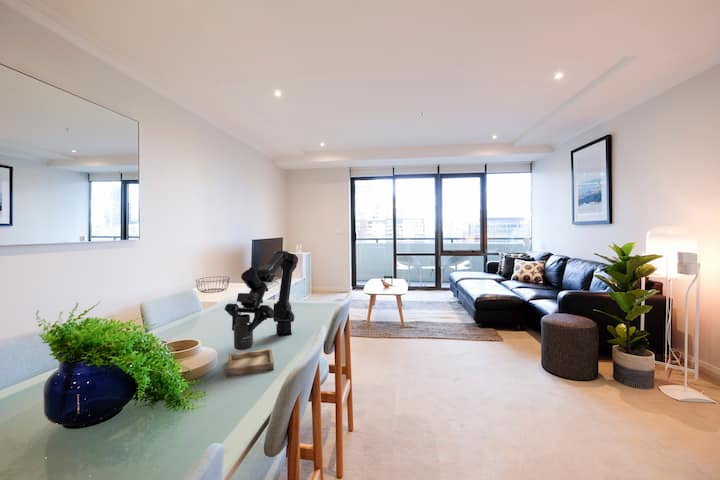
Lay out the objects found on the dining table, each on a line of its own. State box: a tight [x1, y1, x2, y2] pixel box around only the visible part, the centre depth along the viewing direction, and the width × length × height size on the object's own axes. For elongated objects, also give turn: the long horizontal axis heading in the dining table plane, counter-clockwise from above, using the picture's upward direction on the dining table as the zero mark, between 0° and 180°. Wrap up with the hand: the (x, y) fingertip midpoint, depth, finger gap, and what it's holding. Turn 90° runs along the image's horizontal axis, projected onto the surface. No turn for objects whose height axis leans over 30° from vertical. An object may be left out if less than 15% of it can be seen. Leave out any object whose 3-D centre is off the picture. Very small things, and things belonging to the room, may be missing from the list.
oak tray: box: [225, 348, 275, 378], centre depth 118 cm, size 16×14×2 cm
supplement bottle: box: [233, 313, 254, 351], centre depth 118 cm, size 7×7×12 cm
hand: (241, 331), depth 117 cm, fingers closed on supplement bottle, 7 cm apart
